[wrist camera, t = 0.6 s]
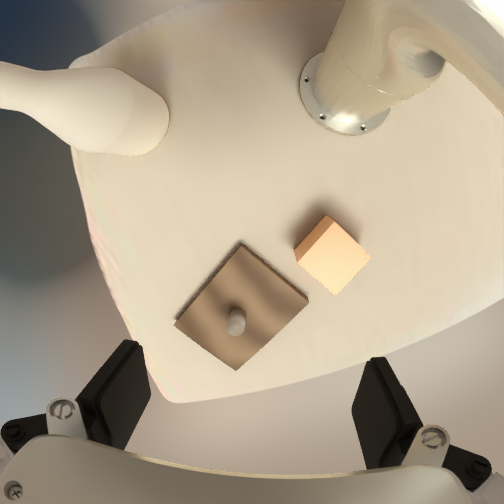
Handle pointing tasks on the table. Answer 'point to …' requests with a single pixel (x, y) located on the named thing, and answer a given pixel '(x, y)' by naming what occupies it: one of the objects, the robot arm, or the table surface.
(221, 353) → the base plate
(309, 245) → the light orange cube
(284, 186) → the table surface
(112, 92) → the wine bottle
